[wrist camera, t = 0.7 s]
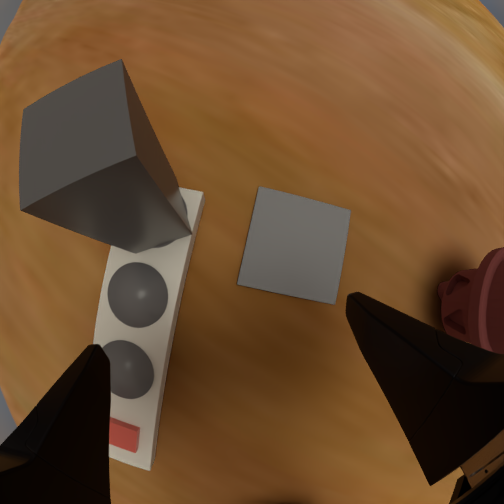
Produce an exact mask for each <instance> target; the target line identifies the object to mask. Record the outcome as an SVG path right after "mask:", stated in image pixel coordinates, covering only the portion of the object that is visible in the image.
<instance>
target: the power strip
mask: <svg viewBox="0 0 504 504" xmlns="http://www.w3.org/2000/svg"><path fill="white" fill-rule="evenodd" d="M179 189H180V193H181V196H182V200H183V203H184V207H185V210H186V214H187V217H188V221H189V224H190V227H191V231H192V235H189V236H186V237H183V238H180V239H177V240H174V241H171V242H168V243H165V244H162V245H159V246H156V247H153V248H151V249H148V250H145V251H142V252H139V253H136V254H135V253H132V252H129V251H126V250H123V249H121V248H118V247H115V246H112V245H111V249H110V253H109V257H108V262H107V266H106V271H105V275H104V280H103V285H102V290H101V295H100V301H99V307H98V313H97V319H96V326H95V333H94V341H93V344H99V345H100V346H101V347H102V348H103V350H104V352H105V353H106V355H107V356H108V358H109V360H110V373H111V409H110V430H109V457H110V458H113V459H116V460H118V461H121V462H124V463H127V464H129V465H132V466H135V467H138V468H141V469H145V470H148V471H150V470H151V467H152V465H153V463H154V460H155V453H156V445H157V437H158V429H159V422H160V414H161V408H162V401H163V394H164V388H165V382H166V376H167V370H168V364H169V359H170V353H171V348H172V342H173V337H174V332H175V327H176V322H177V317H178V312H179V307H180V303H181V298H182V293H183V289H184V284H185V280H186V275H187V271H188V267H189V262H190V258H191V254H192V250H193V246H194V241H195V237H196V233H197V229H198V226H199V222H200V218H201V214H202V210H203V206H204V203H205V197H204V194H203V192H199V191H195V190H190V189H185V188H180V187H179Z"/></svg>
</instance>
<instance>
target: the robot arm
mask: <svg viewBox="0 0 504 504" xmlns="http://www.w3.org/2000/svg"><path fill="white" fill-rule="evenodd" d="M346 317H347V320H348V322H349V324H350V327H351V329H352V332H353V334H354V336H355V339H356V341H357V343H358V346H359V348H360V350H361V352H362V354H363V356H364V358H365V360H366V362H367V363H368V365H369V367H370V369H371V371H372V373H373V374H374V376H375V378H376V380H377V382H378V384H379V385H380V387H381V389H382V391H383V393H384V395H385V397H386V398H387V400H388V402H389V404H390V406H391V408H392V410H393V412H394V414H395V416H396V418H397V419H398V421H399V423H400V425H401V427H402V429H403V431H404V433H405V435H406V437H407V439H408V441H409V444H410V446H411V448H412V450H413V452H414V454H415V456H416V458H417V460H418V462H419V464H420V466H421V468H422V470H423V473H424V475H425V477H426V479H427V481H428V483H429V485H430V486H432V485H433V484H435V483H436V482H438V481H440V480H441V479H443V478H444V477H446V476H447V475H449V474H450V473H452V472H453V471H454V470H456V469H457V468H459V467H461V469H462V471H463V473H464V475H463V476H461V477H460V478H458V479H457V482H456V486H455V489H454V491H453V494H452V497H451V500H450V503H449V504H504V354H499V353H494V352H491V351H488V350H486V349H483V348H480V347H478V346H475V345H472V344H470V343H467V342H465V341H462V340H460V339H457V338H455V337H453V336H450V335H448V334H446V333H444V332H442V331H440V330H438V329H436V330H435V328H433V327H431V326H429V325H427V324H425V323H423V322H421V321H419V320H417V319H415V318H413V317H411V316H409V315H406V314H404V313H402V312H400V311H398V310H396V309H394V308H392V307H390V306H388V305H386V304H383V303H381V302H379V301H377V300H375V299H373V298H371V297H369V296H367V295H365V294H362V293H360V292H354V293H351V294H349V295H348V296H347V302H346ZM110 409H111V373H110V360H109V358H108V356H107V355H106V353H105V352H104V350H103V348H102V347H101V346H100V345H99V344H91V345H88V346H87V348H86V349H85V350H84V351H83V352H82V353H81V354H80V355H79V356H78V357H77V359H76V360H75V361H74V362H73V363H72V364H71V365H70V366H69V368H68V369H67V370H66V371H65V372H64V373H63V374H62V376H61V377H60V378H59V379H58V380H57V381H56V382H55V384H54V385H53V386H52V387H51V388H50V389H49V391H48V392H47V393H46V394H45V395H44V397H43V398H42V399H41V400H40V401H39V403H38V404H37V406H35V407H34V409H33V410H32V411H31V412H30V413H29V415H28V416H27V417H26V418H25V419H24V420H23V422H22V423H21V424H20V425H19V426H18V427H17V428H16V429H15V430H14V431H13V433H11V434H10V436H9V437H8V438H7V439H6V440H5V441H4V442H3V443H2V444H1V445H0V504H111V499H110V481H109V430H110Z"/></svg>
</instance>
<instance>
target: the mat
mask: <svg viewBox="0 0 504 504" xmlns="http://www.w3.org/2000/svg"><path fill="white" fill-rule="evenodd" d="M350 213H351V210H348V209H344V208H341V207H337V206H334V205H330V204H327V203H323V202H319V201H316V200H312V199H308V198H304V197H301V196H297V195H293V194H289V193H285V192H281V191H277V190H273V189H268V188H264V187H260V186H259V189H258V193H257V198H256V202H255V206H254V211H253V215H252V220H251V224H250V228H249V233H248V237H247V242H246V246H245V251H244V255H243V260H242V264H241V268H240V273H239V277H238V282H237V284H238V285H242V286H247V287H252V288H256V289H261V290H265V291H270V292H275V293H280V294H284V295H289V296H294V297H299V298H304V299H309V300H314V301H319V302H324V303H329V304H335V302H336V297H337V292H338V287H339V282H340V276H341V271H342V265H343V259H344V253H345V247H346V241H347V234H348V227H349V220H350Z"/></svg>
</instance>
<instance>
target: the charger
mask: <svg viewBox="0 0 504 504" xmlns="http://www.w3.org/2000/svg"><path fill="white" fill-rule="evenodd" d="M19 194H20V210H21V211H23V212H26V213H28V214H31V215H33V216H36V217H38V218H41V219H43V220H46V221H48V222H51V223H53V224H56V225H58V226H61V227H64V228H66V229H69V230H72V231H74V232H77V233H79V234H82V235H85V236H88V237H90V238H93V239H96V240H98V241H101V242H104V243H107V244H109V245H112V246H115V247H118V248H121V249H123V250H126V251H129V252H132V253H135V254H136V253H139V252H142V251H145V250H148V249H151V248H153V247H156V246H159V245H162V244H165V243H168V242H171V241H174V240H177V239H180V238H183V237H186V236H189V235H192V231H191V227H190V224H189V221H188V217H187V214H186V210H185V207H184V203H183V200H182V196H181V193H180V189H179V186H178V182H177V178H176V176H175V174H174V172H173V170H172V168H171V166H170V164H169V162H168V160H167V158H166V156H165V154H164V151H163V149H162V147H161V145H160V143H159V141H158V139H157V137H156V134H155V132H154V130H153V128H152V126H151V124H150V122H149V119H148V117H147V115H146V113H145V111H144V108H143V106H142V104H141V102H140V100H139V97H138V95H137V93H136V91H135V88H134V86H133V84H132V82H131V79H130V77H129V75H128V72H127V70H126V68H125V65H124V63H123V61H122V59H121V60H118V61H116V62H113V63H111V64H108V65H106V66H104V67H101V68H99V69H97V70H95V71H92V72H90V73H88V74H86V75H84V76H82V77H80V78H78V79H76V80H74V81H72V82H70V83H68V84H66V85H64V86H62V87H60V88H58V89H57V90H55V91H53V92H51V93H49V94H48V95H46V96H44V97H43V98H41V99H39V100H38V101H36V102H34V103H33V104H31V105H30V106H28V107H26V108H25V109H24V110H23V118H22V128H21V140H20V159H19Z"/></svg>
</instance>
